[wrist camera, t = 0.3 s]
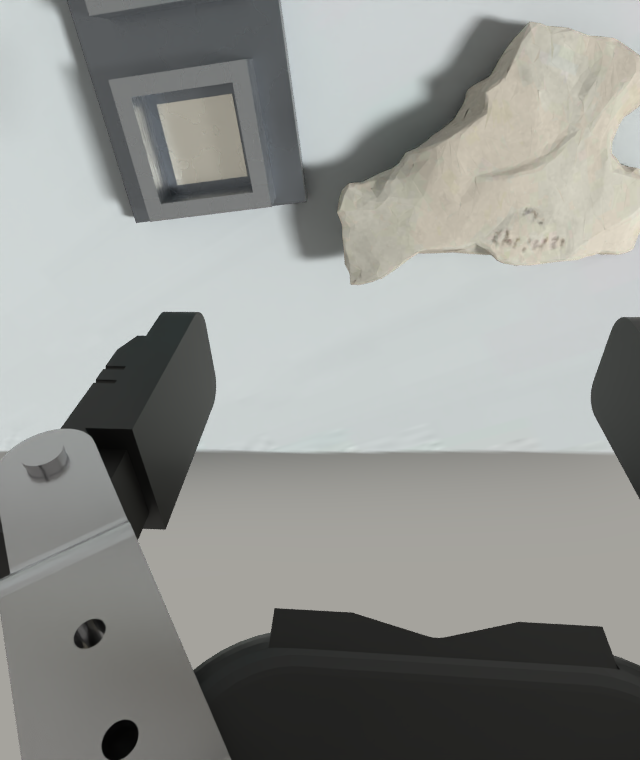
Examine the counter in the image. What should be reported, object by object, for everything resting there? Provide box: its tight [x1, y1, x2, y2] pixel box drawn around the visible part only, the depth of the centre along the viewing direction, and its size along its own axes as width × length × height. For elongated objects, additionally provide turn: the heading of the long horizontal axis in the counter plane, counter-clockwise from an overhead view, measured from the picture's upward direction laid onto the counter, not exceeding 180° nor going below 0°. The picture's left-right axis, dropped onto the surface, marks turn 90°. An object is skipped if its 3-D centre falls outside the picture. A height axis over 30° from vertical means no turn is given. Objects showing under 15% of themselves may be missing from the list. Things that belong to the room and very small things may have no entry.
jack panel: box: [67, 0, 307, 223], centre depth 30 cm, size 20×12×4 cm, turn 7°
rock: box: [337, 22, 640, 285], centre depth 33 cm, size 21×5×15 cm
